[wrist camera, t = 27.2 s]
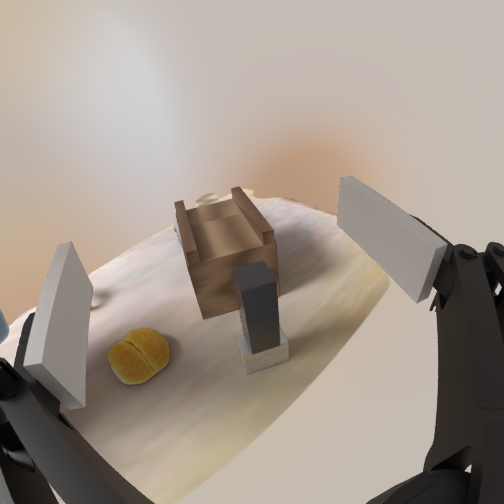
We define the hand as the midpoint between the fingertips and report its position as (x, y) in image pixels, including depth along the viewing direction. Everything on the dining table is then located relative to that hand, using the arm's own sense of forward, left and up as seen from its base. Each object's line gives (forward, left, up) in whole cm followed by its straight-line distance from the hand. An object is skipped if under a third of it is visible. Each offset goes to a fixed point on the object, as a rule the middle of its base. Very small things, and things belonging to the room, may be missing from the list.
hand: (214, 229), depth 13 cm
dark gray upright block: (+4, +10, -25) cm, 27 cm away
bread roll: (-12, +15, -26) cm, 32 cm away
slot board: (+4, +27, -25) cm, 38 cm away
